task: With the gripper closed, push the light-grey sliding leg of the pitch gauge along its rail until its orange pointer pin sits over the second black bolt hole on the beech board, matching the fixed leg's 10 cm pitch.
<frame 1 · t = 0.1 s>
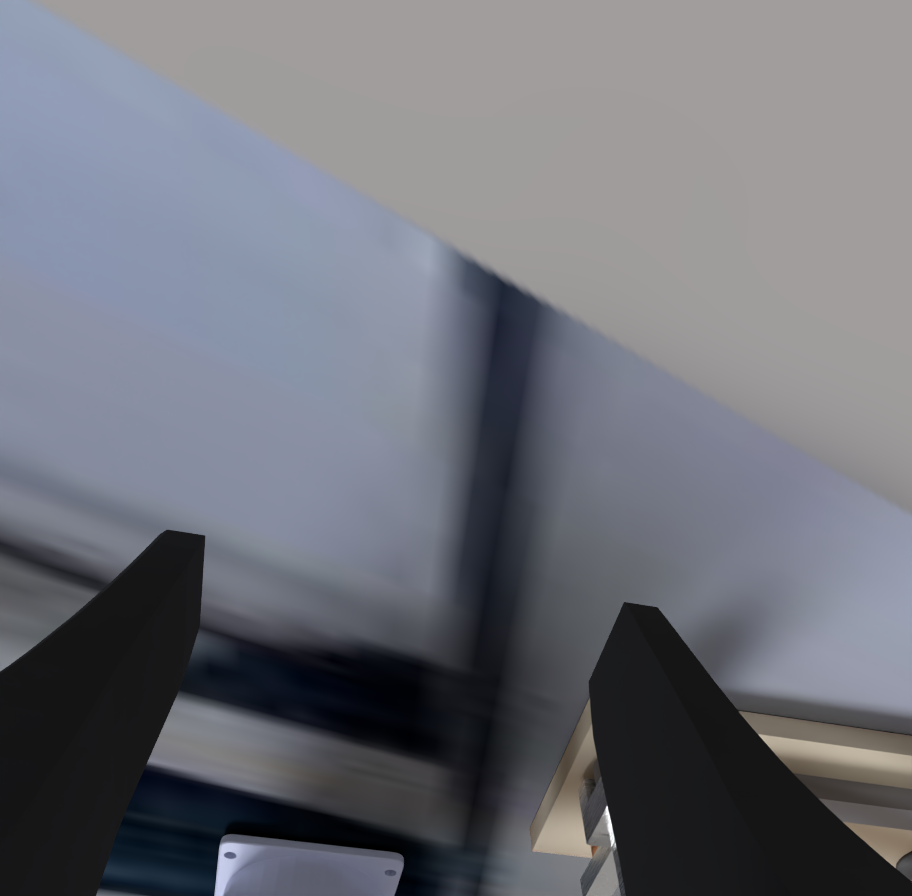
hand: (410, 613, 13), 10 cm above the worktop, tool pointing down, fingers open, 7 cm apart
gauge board: (787, 794, 32), on the worktop
sliding leg: (626, 861, 28), point 4 cm above the worktop, slide at 0.0 cm
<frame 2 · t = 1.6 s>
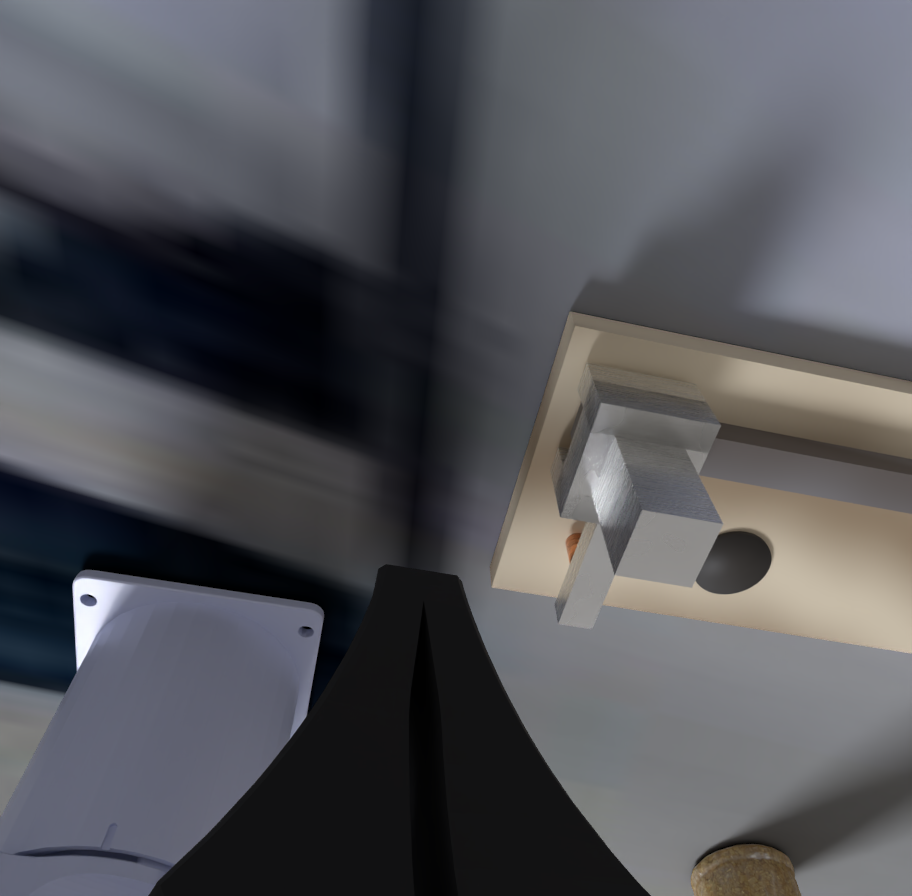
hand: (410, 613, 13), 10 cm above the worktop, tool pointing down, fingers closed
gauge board: (835, 507, 24), on the worktop
sprinkles bottle: (738, 863, 35), on the worktop
sliding leg: (617, 539, 20), point 4 cm above the worktop, slide at 0.0 cm
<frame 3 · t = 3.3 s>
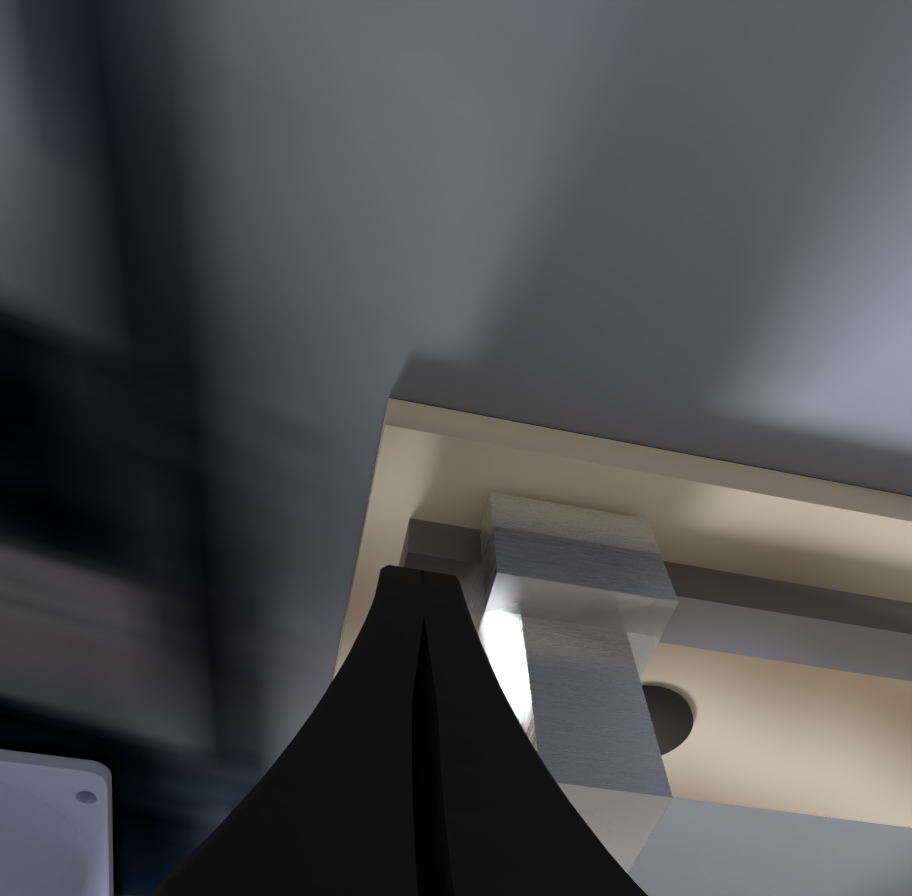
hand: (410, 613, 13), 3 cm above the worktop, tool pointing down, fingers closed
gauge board: (781, 646, 18), on the worktop
sliding leg: (532, 749, 14), point 4 cm above the worktop, slide at 1.6 cm, touching gripper
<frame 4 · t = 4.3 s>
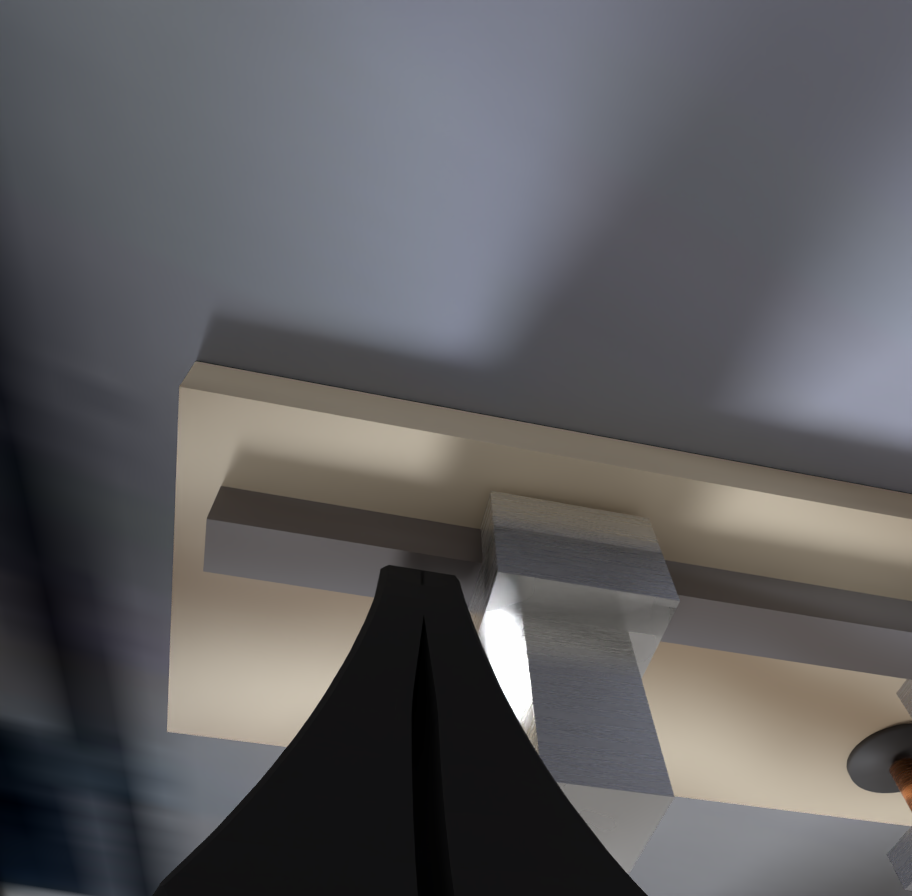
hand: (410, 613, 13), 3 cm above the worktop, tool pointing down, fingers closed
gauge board: (639, 623, 17), on the worktop
sliding leg: (534, 749, 14), point 4 cm above the worktop, slide at 5.1 cm, touching gripper
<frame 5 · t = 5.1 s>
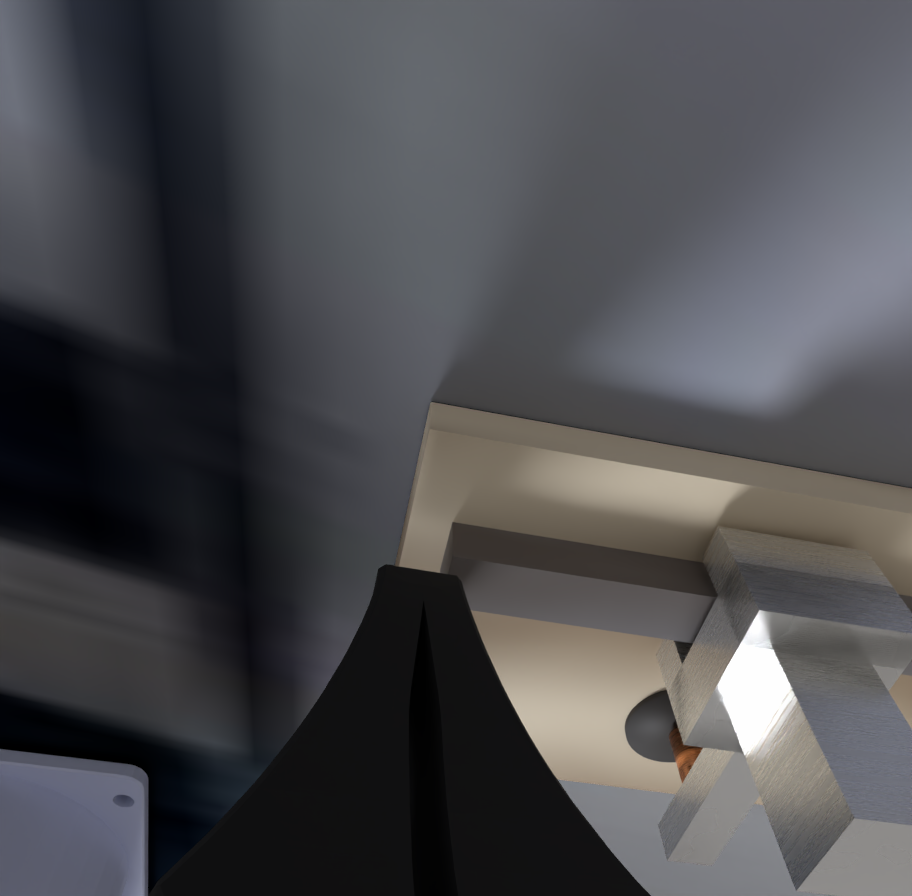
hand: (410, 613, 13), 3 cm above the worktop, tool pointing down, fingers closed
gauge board: (820, 647, 18), on the worktop
sliding leg: (765, 777, 14), point 4 cm above the worktop, slide at 5.1 cm
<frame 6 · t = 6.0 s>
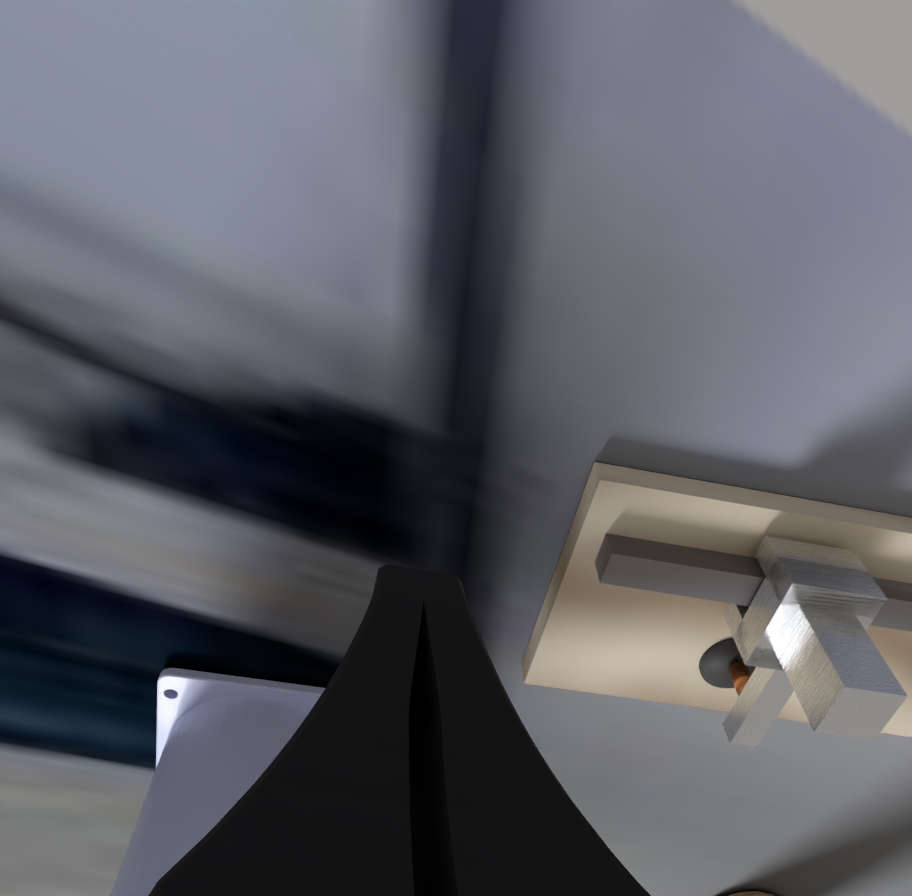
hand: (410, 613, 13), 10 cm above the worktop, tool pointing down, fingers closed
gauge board: (824, 613, 28), on the worktop
sliding leg: (793, 683, 24), point 4 cm above the worktop, slide at 5.1 cm
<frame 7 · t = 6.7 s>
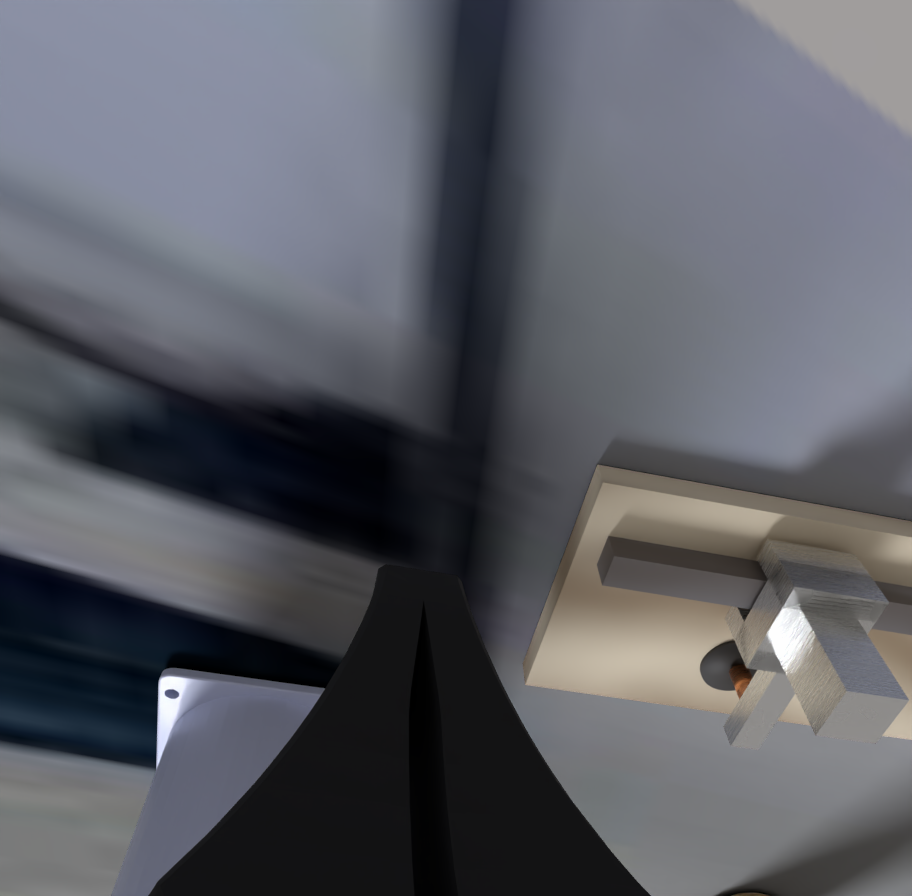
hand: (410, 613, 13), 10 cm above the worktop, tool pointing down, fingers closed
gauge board: (825, 616, 28), on the worktop
sliding leg: (794, 687, 24), point 4 cm above the worktop, slide at 5.1 cm
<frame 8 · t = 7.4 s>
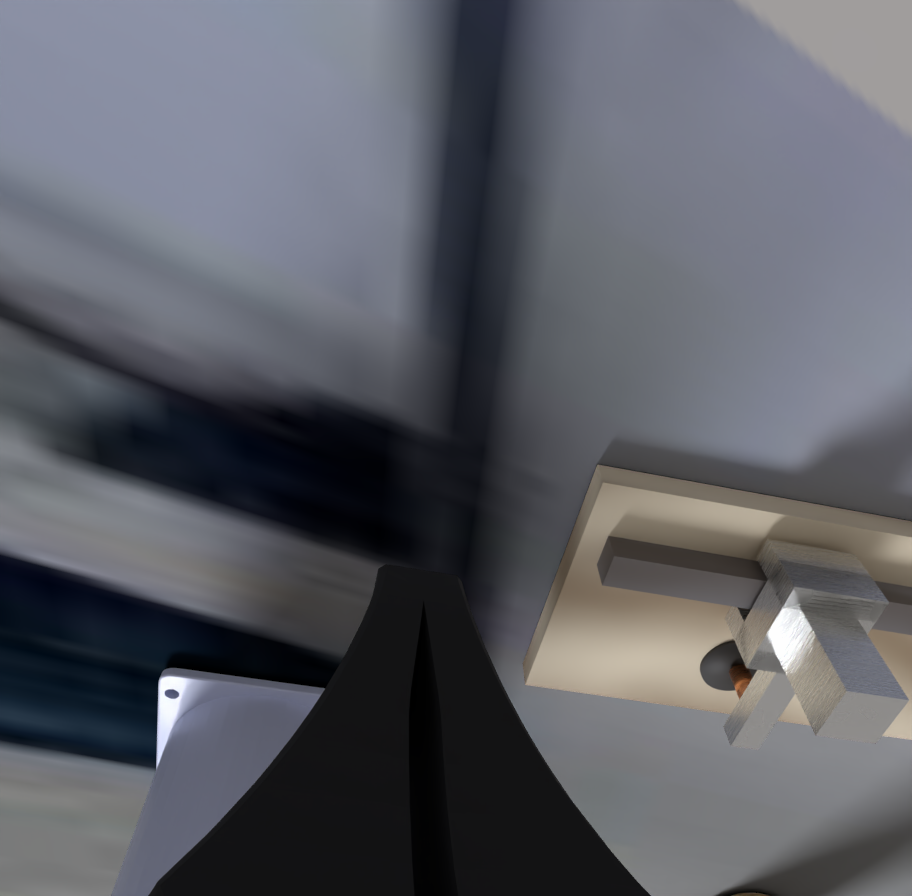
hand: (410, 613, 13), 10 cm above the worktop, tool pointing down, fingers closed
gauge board: (825, 616, 28), on the worktop
sliding leg: (794, 687, 24), point 4 cm above the worktop, slide at 5.1 cm
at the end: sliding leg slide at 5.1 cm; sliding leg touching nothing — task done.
